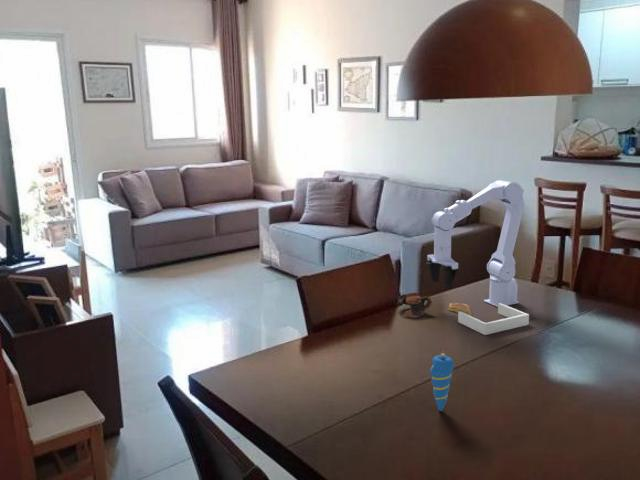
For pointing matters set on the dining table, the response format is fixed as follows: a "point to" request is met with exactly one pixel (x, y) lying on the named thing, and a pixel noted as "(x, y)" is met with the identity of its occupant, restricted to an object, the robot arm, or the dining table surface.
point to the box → (513, 320)
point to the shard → (460, 308)
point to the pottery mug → (414, 303)
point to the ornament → (441, 378)
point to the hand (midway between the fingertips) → (441, 284)
